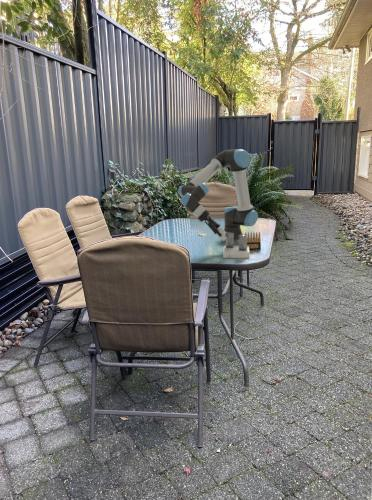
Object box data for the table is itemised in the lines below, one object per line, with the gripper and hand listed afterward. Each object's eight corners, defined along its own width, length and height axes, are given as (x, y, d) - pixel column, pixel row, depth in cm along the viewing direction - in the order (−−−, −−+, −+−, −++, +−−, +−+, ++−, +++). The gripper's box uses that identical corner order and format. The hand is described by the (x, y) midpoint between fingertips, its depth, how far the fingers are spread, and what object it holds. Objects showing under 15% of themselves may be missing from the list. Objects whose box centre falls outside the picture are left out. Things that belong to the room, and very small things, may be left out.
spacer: (225, 246, 247) (225, 232, 245) (233, 246, 246) (233, 232, 244) (225, 248, 242) (225, 234, 240) (233, 248, 242) (233, 233, 239)
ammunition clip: (260, 249, 253) (260, 231, 250) (260, 249, 251) (261, 231, 248) (244, 249, 253) (244, 231, 250) (244, 250, 251) (244, 232, 248)
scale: (223, 251, 251) (223, 245, 250) (248, 251, 248) (248, 245, 247) (222, 258, 235) (222, 251, 234) (249, 258, 232) (249, 251, 231)
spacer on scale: (238, 248, 239) (238, 234, 237) (246, 248, 239) (246, 234, 236) (238, 250, 234) (238, 236, 232) (247, 250, 234) (247, 236, 232)
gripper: (198, 214, 254) (221, 236, 256) (195, 221, 230) (220, 245, 232) (206, 206, 252) (229, 229, 254) (203, 212, 228) (229, 237, 230)
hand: (225, 237), depth 243 cm, fingers open, 13 cm apart
